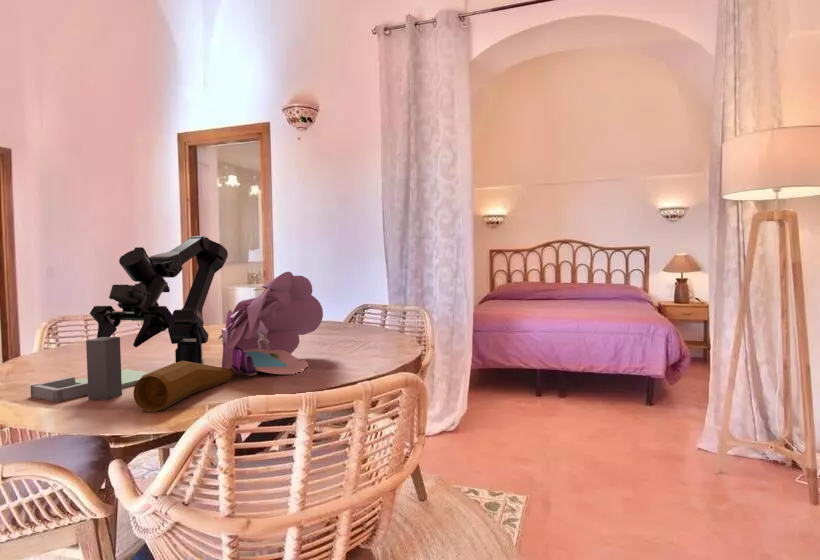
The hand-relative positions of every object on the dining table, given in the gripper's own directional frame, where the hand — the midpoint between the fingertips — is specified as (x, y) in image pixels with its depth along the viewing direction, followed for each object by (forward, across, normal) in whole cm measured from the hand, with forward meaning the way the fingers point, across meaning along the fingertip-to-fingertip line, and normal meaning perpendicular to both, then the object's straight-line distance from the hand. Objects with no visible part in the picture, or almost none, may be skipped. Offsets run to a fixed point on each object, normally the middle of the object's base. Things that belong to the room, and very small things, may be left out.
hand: (116, 345), depth 111 cm
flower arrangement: (-11, +26, +26) cm, 39 cm away
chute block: (+10, 0, +5) cm, 11 cm away
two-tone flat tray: (+4, -8, +11) cm, 14 cm away
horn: (+8, +18, +7) cm, 21 cm away
